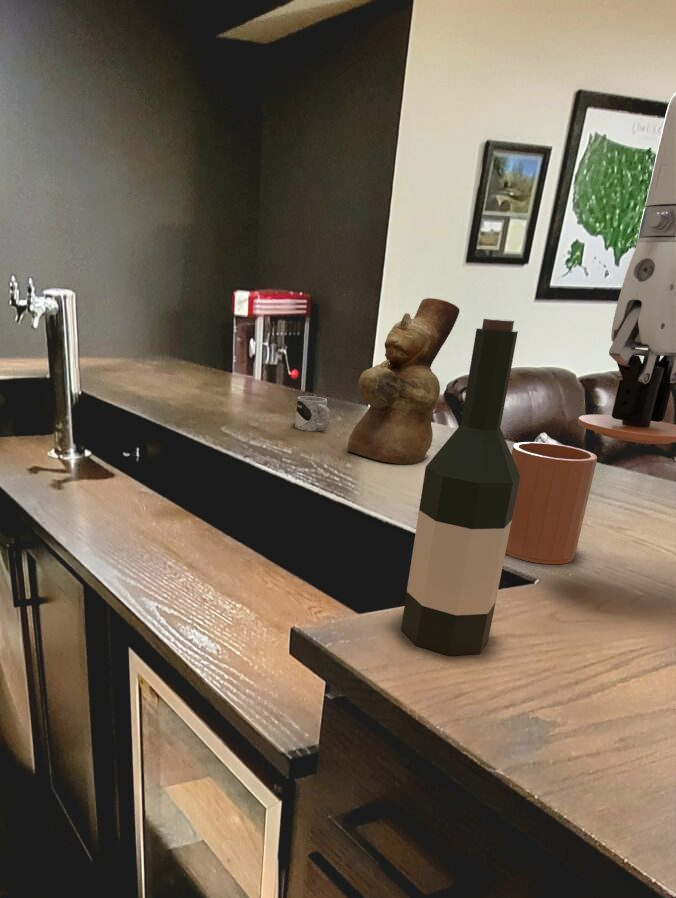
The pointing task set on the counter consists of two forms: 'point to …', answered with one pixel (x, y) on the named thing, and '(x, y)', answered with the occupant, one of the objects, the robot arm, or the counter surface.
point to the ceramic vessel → (404, 388)
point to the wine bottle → (466, 511)
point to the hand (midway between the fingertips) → (637, 418)
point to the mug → (312, 413)
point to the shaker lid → (635, 431)
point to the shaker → (549, 501)
